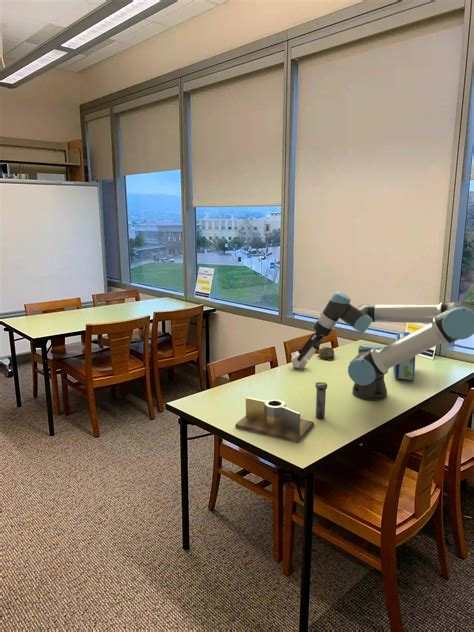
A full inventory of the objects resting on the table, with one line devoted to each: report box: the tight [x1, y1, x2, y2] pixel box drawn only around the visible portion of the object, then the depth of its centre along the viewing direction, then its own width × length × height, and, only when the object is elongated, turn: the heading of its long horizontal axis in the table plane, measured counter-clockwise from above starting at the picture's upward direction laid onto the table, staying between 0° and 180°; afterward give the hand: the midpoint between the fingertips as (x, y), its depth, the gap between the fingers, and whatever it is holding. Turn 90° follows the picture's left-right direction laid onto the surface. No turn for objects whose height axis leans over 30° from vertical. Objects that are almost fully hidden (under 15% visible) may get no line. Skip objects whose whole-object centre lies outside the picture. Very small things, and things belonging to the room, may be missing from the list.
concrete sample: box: [317, 346, 335, 361], centre depth 258 cm, size 12×10×5 cm
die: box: [290, 352, 308, 370], centre depth 240 cm, size 8×9×10 cm
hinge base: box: [235, 415, 315, 444], centre depth 173 cm, size 26×16×2 cm, turn 61°
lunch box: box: [392, 331, 416, 381], centre depth 227 cm, size 26×11×21 cm, turn 161°
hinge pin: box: [314, 381, 328, 420], centre depth 179 cm, size 5×5×14 cm
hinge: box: [245, 396, 301, 434], centre depth 171 cm, size 24×8×8 cm, turn 61°
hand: (301, 362), depth 201 cm, fingers open, 13 cm apart
